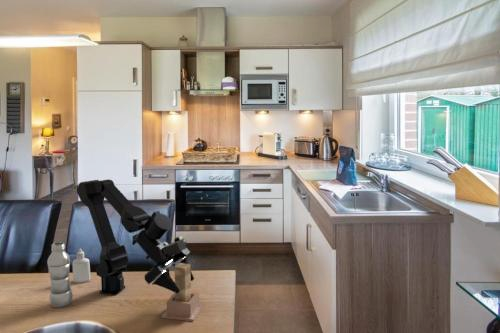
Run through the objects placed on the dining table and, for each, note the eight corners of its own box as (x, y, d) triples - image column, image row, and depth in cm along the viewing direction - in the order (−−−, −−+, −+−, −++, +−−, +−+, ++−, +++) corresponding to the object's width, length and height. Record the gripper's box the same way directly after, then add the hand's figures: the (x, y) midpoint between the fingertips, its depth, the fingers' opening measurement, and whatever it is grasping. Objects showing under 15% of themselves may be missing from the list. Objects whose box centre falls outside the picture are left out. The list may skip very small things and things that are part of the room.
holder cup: (161, 317, 121) (160, 303, 120) (174, 302, 131) (173, 288, 130) (193, 321, 119) (193, 306, 118) (204, 305, 129) (203, 291, 128)
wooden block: (175, 311, 124) (174, 267, 122) (181, 306, 127) (180, 262, 125) (185, 313, 123) (185, 268, 121) (191, 307, 126) (190, 264, 124)
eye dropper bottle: (84, 284, 145) (83, 251, 143) (71, 282, 146) (69, 250, 144) (92, 279, 149) (90, 247, 147) (79, 277, 150) (77, 246, 149)
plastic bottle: (77, 302, 131) (74, 241, 128) (61, 311, 125) (57, 248, 122) (61, 298, 133) (58, 239, 130) (45, 308, 127) (41, 246, 124)
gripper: (152, 239, 114) (188, 282, 112) (184, 222, 132) (215, 259, 130) (129, 263, 118) (164, 305, 116) (163, 243, 135) (193, 280, 133)
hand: (186, 286), depth 123 cm, fingers open, 9 cm apart
